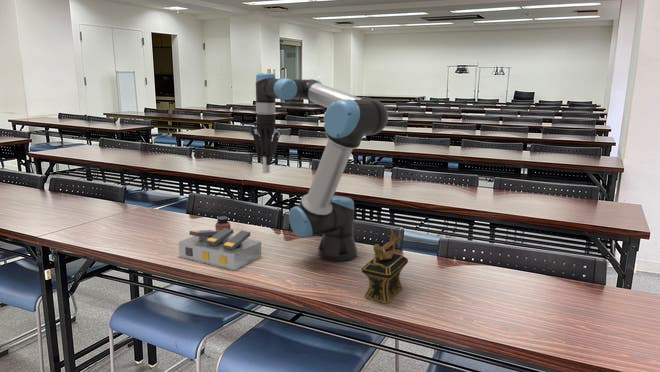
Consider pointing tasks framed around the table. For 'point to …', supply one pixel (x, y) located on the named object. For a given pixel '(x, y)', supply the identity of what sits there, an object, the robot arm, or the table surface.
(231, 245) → the switch
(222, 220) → the supplement bottle
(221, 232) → the switch
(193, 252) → the console
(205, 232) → the switch
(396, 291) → the decorative box
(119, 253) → the table surface
